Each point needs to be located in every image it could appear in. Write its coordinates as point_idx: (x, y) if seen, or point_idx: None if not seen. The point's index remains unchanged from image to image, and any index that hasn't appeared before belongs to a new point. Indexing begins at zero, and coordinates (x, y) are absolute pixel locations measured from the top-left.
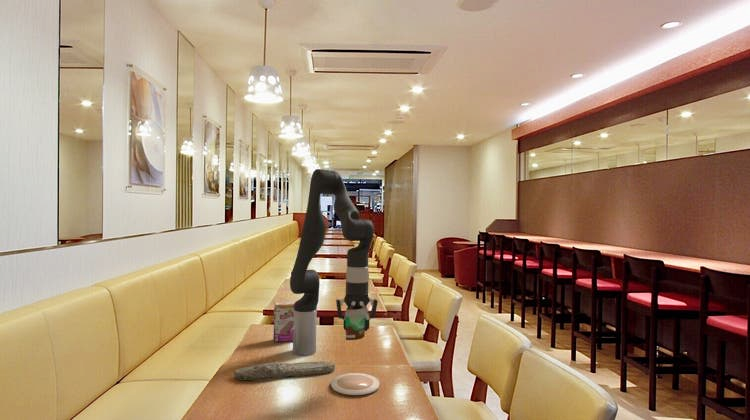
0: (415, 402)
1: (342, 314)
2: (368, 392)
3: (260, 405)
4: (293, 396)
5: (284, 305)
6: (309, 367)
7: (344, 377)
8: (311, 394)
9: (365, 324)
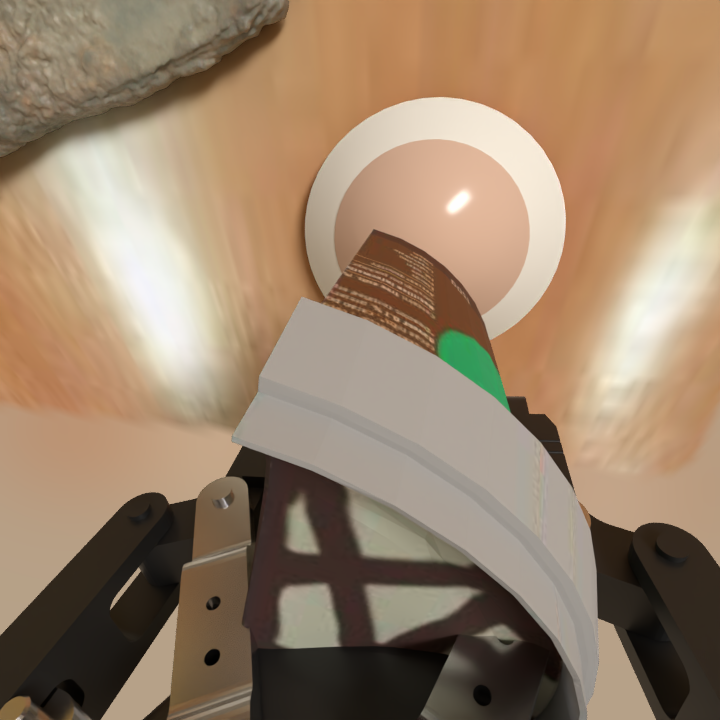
0: (674, 405)
1: (178, 558)
2: None
3: (110, 376)
4: (184, 322)
5: None
6: (138, 58)
7: (369, 183)
8: (244, 309)
9: None
